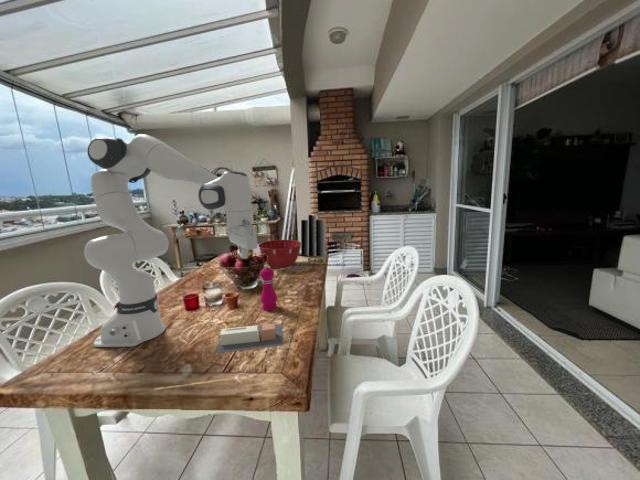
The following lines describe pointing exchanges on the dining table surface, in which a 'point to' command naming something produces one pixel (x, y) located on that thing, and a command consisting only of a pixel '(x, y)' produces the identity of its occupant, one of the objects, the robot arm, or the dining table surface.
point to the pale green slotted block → (240, 335)
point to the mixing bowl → (280, 252)
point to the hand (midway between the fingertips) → (244, 257)
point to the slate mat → (254, 343)
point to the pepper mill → (268, 289)
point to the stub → (268, 332)
